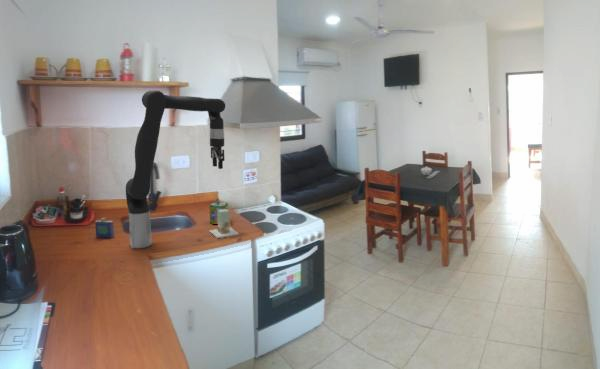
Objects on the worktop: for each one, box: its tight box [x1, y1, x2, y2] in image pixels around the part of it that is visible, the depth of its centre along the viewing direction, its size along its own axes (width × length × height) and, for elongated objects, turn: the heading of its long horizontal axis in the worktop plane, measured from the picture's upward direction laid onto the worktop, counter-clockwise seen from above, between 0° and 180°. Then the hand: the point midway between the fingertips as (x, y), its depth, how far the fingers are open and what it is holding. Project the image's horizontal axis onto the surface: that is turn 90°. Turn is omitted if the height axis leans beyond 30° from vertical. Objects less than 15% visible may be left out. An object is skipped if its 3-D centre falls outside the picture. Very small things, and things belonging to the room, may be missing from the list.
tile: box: [208, 226, 240, 239], centre depth 198 cm, size 12×12×1 cm
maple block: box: [217, 221, 231, 234], centre depth 197 cm, size 5×5×6 cm
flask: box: [94, 217, 115, 240], centre depth 187 cm, size 9×3×11 cm, turn 87°
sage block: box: [217, 209, 231, 223], centre depth 196 cm, size 5×5×6 cm
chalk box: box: [208, 197, 229, 224], centre depth 215 cm, size 9×9×15 cm
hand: (217, 167), depth 197 cm, fingers open, 8 cm apart
